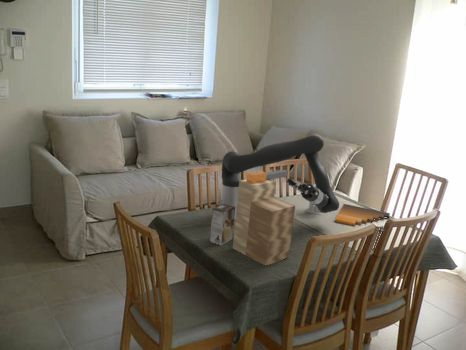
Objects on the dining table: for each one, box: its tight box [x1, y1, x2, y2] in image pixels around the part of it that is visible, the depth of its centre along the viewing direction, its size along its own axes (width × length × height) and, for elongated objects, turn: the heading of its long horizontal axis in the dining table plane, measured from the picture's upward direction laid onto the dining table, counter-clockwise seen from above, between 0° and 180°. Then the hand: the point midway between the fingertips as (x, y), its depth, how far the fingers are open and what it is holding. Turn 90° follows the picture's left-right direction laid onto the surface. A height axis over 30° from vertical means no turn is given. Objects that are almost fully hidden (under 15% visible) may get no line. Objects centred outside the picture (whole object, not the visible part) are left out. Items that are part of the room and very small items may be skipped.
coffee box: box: [209, 204, 235, 246], centre depth 228 cm, size 9×6×16 cm
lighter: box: [373, 225, 385, 249], centre depth 239 cm, size 8×3×10 cm, turn 117°
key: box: [246, 169, 288, 184], centre depth 221 cm, size 22×4×4 cm, turn 133°
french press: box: [306, 183, 325, 215], centre depth 275 cm, size 10×12×25 cm
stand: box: [232, 178, 296, 267], centre depth 218 cm, size 14×20×31 cm
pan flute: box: [335, 203, 391, 227], centre depth 273 cm, size 25×3×25 cm
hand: (295, 182), depth 235 cm, fingers open, 8 cm apart
